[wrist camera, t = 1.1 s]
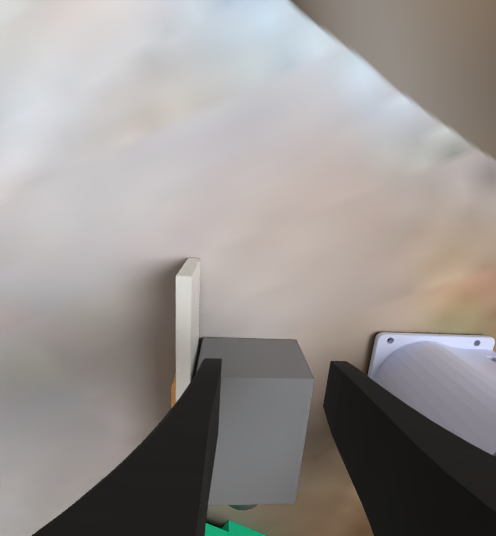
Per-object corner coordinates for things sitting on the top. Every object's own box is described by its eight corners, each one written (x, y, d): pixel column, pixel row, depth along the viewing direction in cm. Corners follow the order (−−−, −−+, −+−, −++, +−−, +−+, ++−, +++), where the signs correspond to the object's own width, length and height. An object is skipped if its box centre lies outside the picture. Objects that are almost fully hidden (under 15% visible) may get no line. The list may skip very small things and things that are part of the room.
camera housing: (296, 339, 20) (314, 378, 16) (281, 456, 23) (293, 516, 19) (203, 337, 20) (195, 376, 15) (199, 456, 22) (192, 518, 18)
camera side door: (200, 258, 18) (191, 276, 14) (195, 452, 22) (188, 509, 18) (182, 257, 18) (167, 275, 14) (181, 452, 22) (169, 510, 18)
